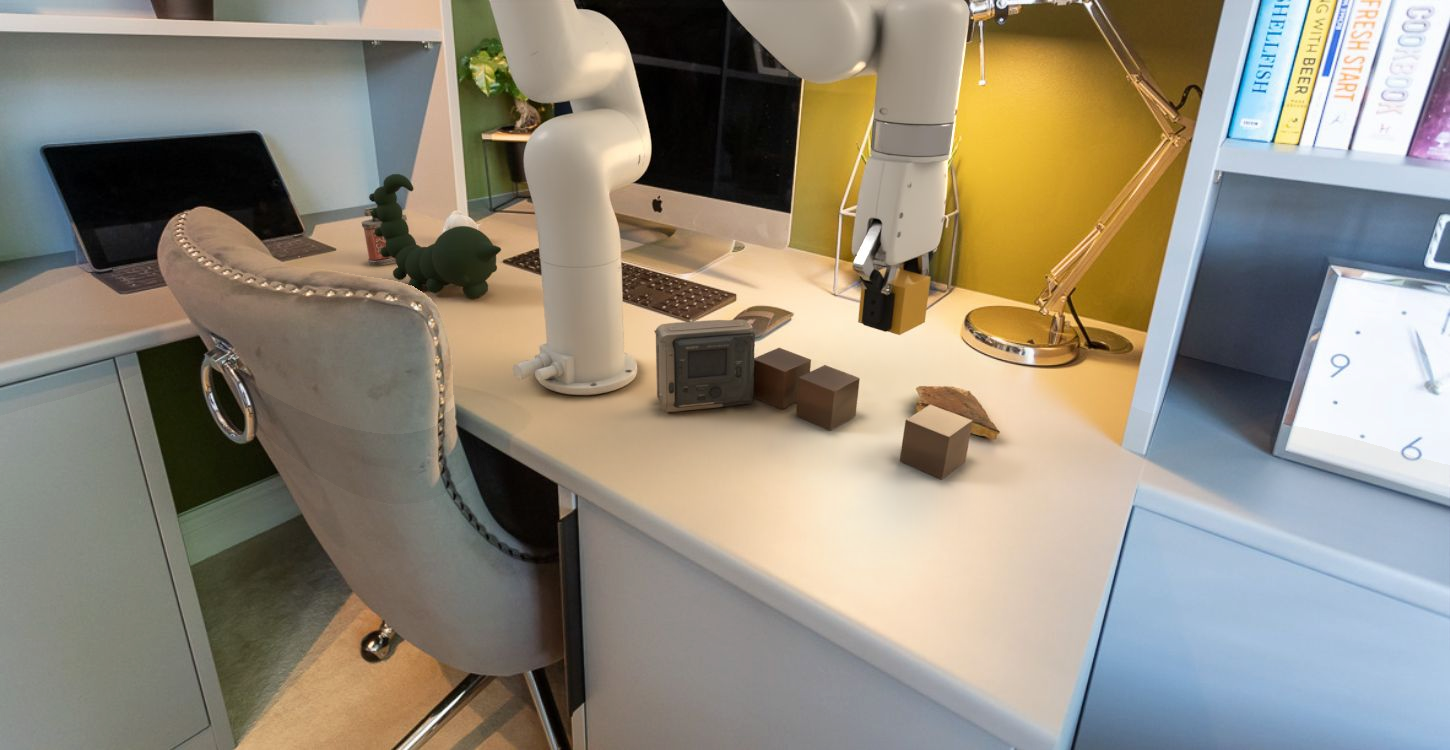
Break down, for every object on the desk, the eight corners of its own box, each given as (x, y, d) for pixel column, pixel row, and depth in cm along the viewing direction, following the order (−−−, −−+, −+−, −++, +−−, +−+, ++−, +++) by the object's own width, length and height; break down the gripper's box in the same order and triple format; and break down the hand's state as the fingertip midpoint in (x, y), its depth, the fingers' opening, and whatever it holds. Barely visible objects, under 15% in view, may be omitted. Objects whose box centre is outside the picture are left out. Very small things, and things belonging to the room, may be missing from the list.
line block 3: (941, 480, 79) (949, 437, 77) (899, 461, 83) (905, 419, 80) (965, 461, 83) (973, 420, 81) (923, 444, 86) (930, 404, 84)
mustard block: (899, 335, 78) (905, 287, 76) (857, 322, 81) (862, 276, 79) (924, 322, 82) (931, 276, 80) (883, 310, 85) (888, 266, 83)
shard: (998, 443, 86) (1000, 429, 86) (929, 443, 86) (931, 429, 85) (967, 398, 96) (970, 385, 95) (906, 398, 96) (908, 385, 95)
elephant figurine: (439, 241, 152) (435, 210, 149) (481, 237, 155) (478, 207, 153) (445, 250, 146) (441, 219, 144) (488, 246, 150) (485, 215, 147)
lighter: (405, 253, 144) (396, 199, 140) (416, 257, 142) (408, 202, 138) (364, 263, 138) (354, 207, 134) (375, 267, 136) (366, 210, 132)
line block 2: (830, 431, 88) (834, 391, 86) (795, 415, 91) (798, 377, 89) (855, 416, 91) (860, 377, 89) (821, 402, 94) (824, 364, 92)
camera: (745, 389, 97) (748, 313, 93) (756, 411, 92) (760, 332, 88) (653, 396, 95) (652, 319, 90) (660, 419, 90) (659, 338, 85)
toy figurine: (374, 295, 128) (487, 311, 117) (346, 178, 121) (464, 182, 110) (419, 279, 136) (529, 293, 125) (395, 168, 129) (510, 172, 117)
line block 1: (782, 410, 92) (784, 371, 90) (750, 396, 95) (752, 358, 93) (808, 396, 96) (811, 359, 93) (776, 383, 99) (779, 347, 97)
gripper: (922, 127, 82) (903, 293, 89) (825, 145, 70) (813, 332, 78) (990, 135, 77) (963, 309, 85) (898, 155, 66) (877, 353, 74)
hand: (891, 318), depth 81 cm, fingers closed on mustard block, 5 cm apart
